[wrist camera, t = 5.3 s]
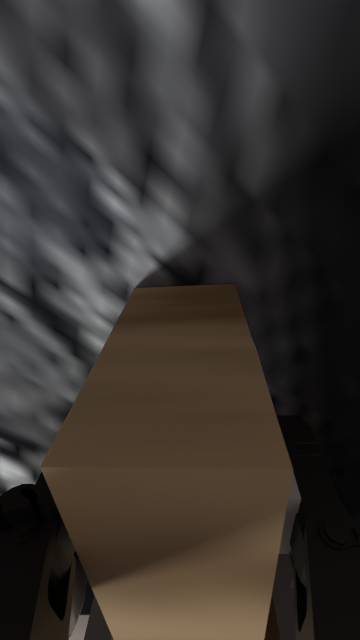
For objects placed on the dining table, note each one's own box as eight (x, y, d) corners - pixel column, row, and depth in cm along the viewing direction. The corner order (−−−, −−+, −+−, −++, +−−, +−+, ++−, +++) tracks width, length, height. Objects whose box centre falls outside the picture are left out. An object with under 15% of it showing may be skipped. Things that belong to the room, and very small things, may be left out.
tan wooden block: (134, 287, 13) (40, 467, 5) (234, 283, 13) (293, 468, 5) (169, 533, 22) (154, 734, 15) (229, 534, 22) (246, 741, 14)
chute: (108, 472, 20) (51, 672, 12) (286, 473, 19) (347, 690, 12) (124, 526, 24) (87, 710, 16) (276, 529, 23) (318, 726, 15)
